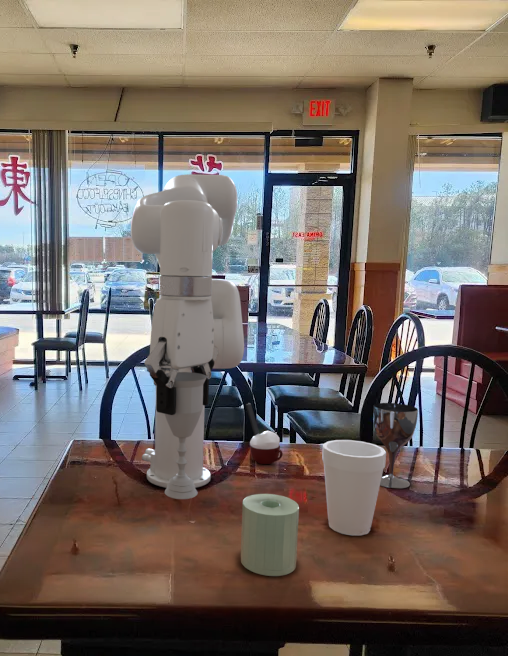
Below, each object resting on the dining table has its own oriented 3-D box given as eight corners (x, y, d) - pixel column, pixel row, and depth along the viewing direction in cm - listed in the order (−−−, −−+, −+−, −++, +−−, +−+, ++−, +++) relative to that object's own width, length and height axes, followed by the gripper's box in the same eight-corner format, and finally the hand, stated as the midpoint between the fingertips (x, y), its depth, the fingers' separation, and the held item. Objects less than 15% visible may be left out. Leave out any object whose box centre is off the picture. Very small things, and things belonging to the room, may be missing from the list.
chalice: (189, 505, 82) (191, 383, 80) (149, 495, 86) (150, 377, 83) (211, 489, 88) (215, 375, 86) (174, 480, 92) (176, 370, 89)
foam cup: (349, 544, 85) (354, 460, 84) (306, 521, 93) (310, 444, 92) (393, 532, 90) (399, 452, 88) (348, 511, 98) (353, 437, 96)
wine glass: (404, 475, 116) (409, 403, 114) (418, 490, 108) (424, 412, 106) (364, 473, 117) (369, 402, 115) (375, 487, 109) (380, 411, 107)
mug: (297, 579, 75) (300, 517, 74) (239, 572, 77) (241, 512, 76) (293, 543, 86) (295, 488, 85) (242, 538, 87) (244, 484, 86)
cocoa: (287, 467, 120) (289, 411, 119) (259, 469, 119) (262, 413, 117) (266, 453, 129) (268, 401, 128) (241, 455, 128) (242, 403, 126)
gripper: (199, 287, 92) (197, 395, 94) (125, 289, 78) (124, 414, 81) (239, 288, 87) (235, 402, 89) (167, 291, 74) (165, 424, 76)
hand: (182, 407), depth 85 cm, fingers closed on chalice, 7 cm apart
